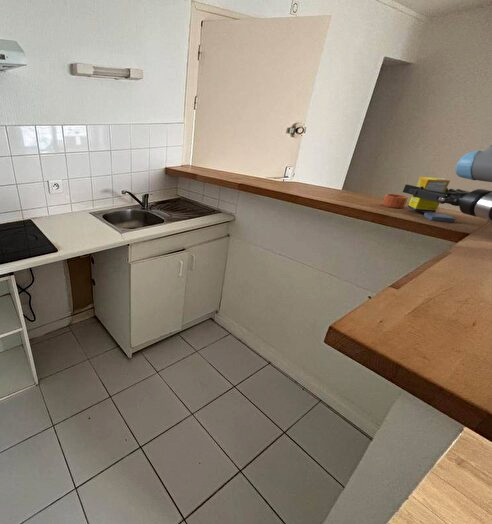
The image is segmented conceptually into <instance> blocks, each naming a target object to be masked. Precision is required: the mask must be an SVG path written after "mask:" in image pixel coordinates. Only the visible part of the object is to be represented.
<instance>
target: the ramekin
mask: <svg viewBox="0 0 492 524" xmlns="http://www.w3.org/2000/svg"><path fill="white" fill-rule="evenodd" d="M408 200H409V196H408V195H403V194H399V193H386V194H385V195H384V198H383V200H382V202H381V203H382V205H383V206H384V207H386V208H390V209H403V208H405V207H406V204H407V202H408Z"/></svg>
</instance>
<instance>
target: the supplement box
mask: <svg viewBox="0 0 492 524" xmlns="http://www.w3.org/2000/svg"><path fill="white" fill-rule="evenodd" d="M450 183H451V180H450V179H448V178H444V177H437V176H436V177H435V176H433V177H432V176H419V178H418V181H417V183H416V185H415V186H416V187H421V186H422V187H424V189H426V190H432V191H439V192H445V191H446V189H447V188H448V186H449V184H450ZM439 206H440V203H438V202H434V201H430V200H426V199H421V198H417V197H413V195H412V194H411V198H410V200H409V202H408V204H407V208H408V209H409V210H412V211H414V212H424V213H436V212H437V210H438V208H439Z"/></svg>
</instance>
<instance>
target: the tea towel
mask: <svg viewBox="0 0 492 524" xmlns="http://www.w3.org/2000/svg"><path fill="white" fill-rule="evenodd" d="M423 217H424V218H426V219H427V220H430V221H435V222H436V221H437V222H445V223H446V222H447V223H455V222H456V220H457V218H455V217H453V216H451V215H448V214H443V213H435V212H424V214H423Z"/></svg>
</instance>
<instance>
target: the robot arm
mask: <svg viewBox="0 0 492 524" xmlns="http://www.w3.org/2000/svg"><path fill="white" fill-rule="evenodd" d="M455 174H456V176H457V177H459V178H461V179H468V180H471V181H478V182H479V181H480V182H486V183H492V144H491V145H490V146H488V147H487V148H486V149H484V150H474V151H470V152H467V153H465V154H464V155H463V156H462V157H461V158H460V159H459V160H458V161H457V163H456V165H455ZM402 193H404V194H408V195H411V196H412V195H413V197H417V198H421V199H426V200H430V201H434V202H438V203H439V205H440V204H441V205H444V204H448V205H451V206H453V207H458V208H459V211H460V213H462V214H464V215H468V216H472V217H475V218H479V219H483V220H487V223H492V190H489V189H488V190H487V189H483V188H478V189H474V190H471V191H467V190H464V189H460V188H456V189H454V188H448V187H447V189H446V191H445V192H439V191H432V190H426V189H424V187H422V186H421V187H416V185H411V184H404V188H403V190H402Z"/></svg>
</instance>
